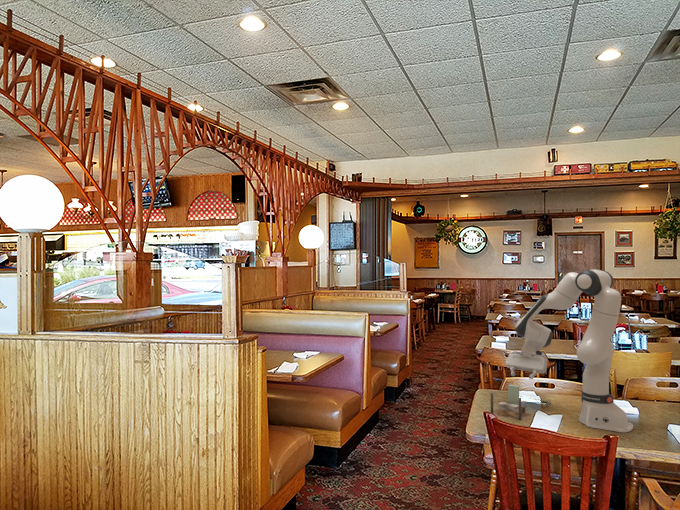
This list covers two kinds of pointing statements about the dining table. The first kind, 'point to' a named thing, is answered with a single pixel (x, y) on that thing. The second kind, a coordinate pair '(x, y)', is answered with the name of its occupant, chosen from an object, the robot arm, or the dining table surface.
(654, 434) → the dining table surface
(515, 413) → the offcut lower
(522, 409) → the rack
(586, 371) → the robot arm
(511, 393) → the grey-green rectangular block
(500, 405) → the offcut upper
